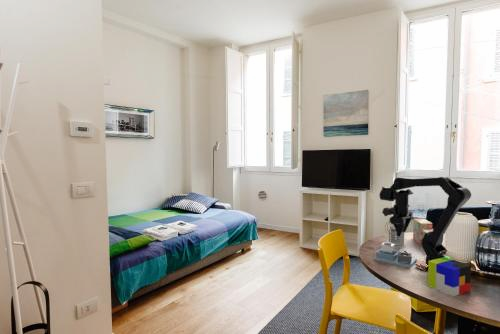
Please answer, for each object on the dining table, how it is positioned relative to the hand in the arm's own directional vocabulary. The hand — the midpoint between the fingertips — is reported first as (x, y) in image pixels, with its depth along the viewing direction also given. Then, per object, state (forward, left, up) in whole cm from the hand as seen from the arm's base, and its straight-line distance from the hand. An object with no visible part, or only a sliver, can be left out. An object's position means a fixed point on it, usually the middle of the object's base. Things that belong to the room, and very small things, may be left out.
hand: (401, 234), depth 152 cm
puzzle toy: (-28, +16, -12) cm, 35 cm away
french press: (+13, -17, -12) cm, 25 cm away
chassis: (0, +5, -12) cm, 13 cm away
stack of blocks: (+3, -31, -12) cm, 34 cm away
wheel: (-5, +6, -10) cm, 13 cm away
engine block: (+4, +5, -11) cm, 13 cm away
